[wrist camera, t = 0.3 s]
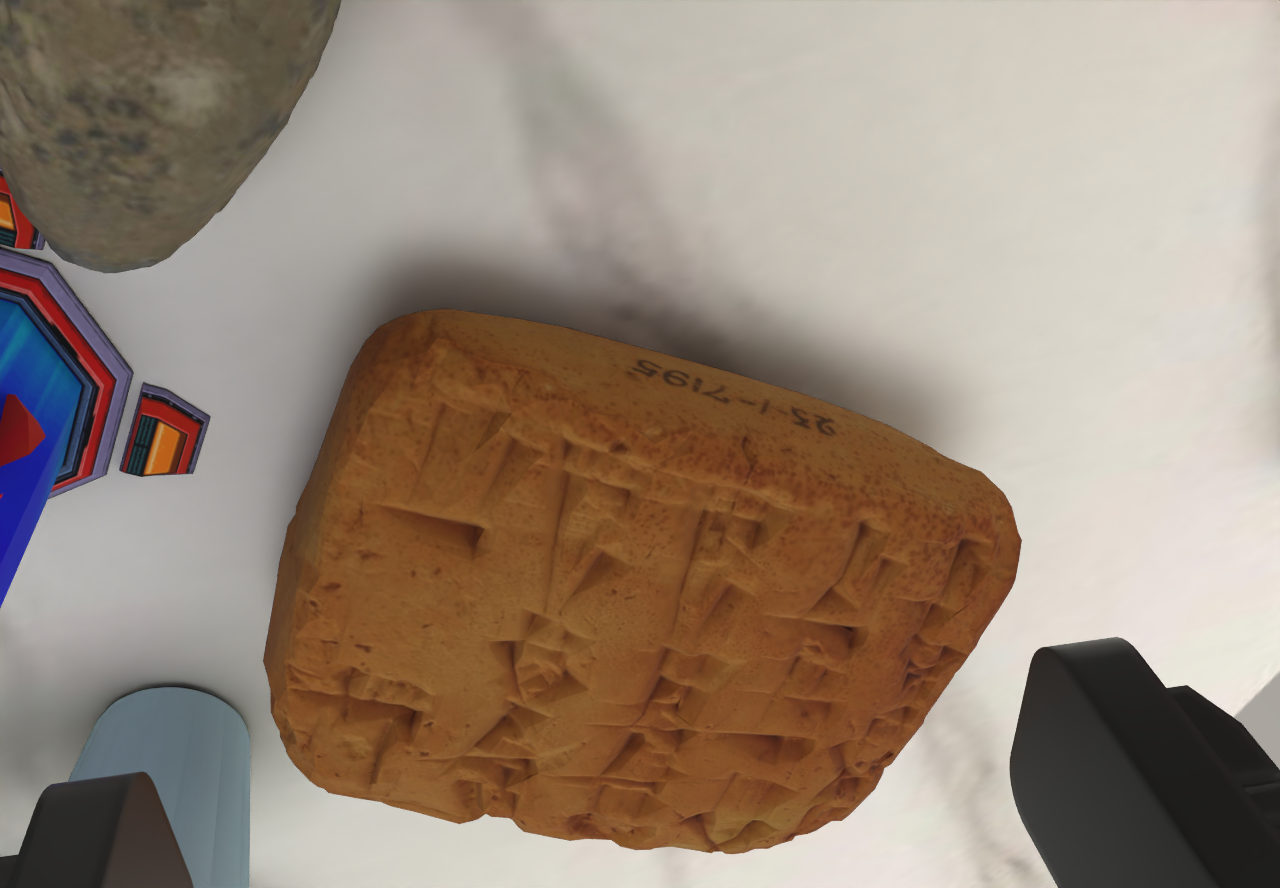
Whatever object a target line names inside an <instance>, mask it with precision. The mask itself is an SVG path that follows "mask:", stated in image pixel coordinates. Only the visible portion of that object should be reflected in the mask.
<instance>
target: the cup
mask: <svg viewBox="0 0 1280 888" xmlns="http://www.w3.org/2000/svg"><path fill="white" fill-rule="evenodd" d="M142 771H143V772H146V773H147V774H148V775H149V776H150V777H151V779H152V780H153V782H154V784H155V787H156V789H157V792H158V794H159V797H160V799H161V802H162V805H163V807H164V810H165V812H166V815H167V817H168V820H169V822H170V825H171V828H172V830H173V833H174V835H175V838H176V840H177V843H178V846H179V848H180V851H181V853H182V856H183V858H184V861H185V863H186V866H187V869H188V871H189V874H190V876H191V879H192V883H193V887H194V888H249V849H250V737H249V734H248V731H247V728H246V726H245V723H244V721H243V720H242V718H241V716H240V715H239V714H238V713H237V712H236V711H235V710H234V709H233V708H232V707H230V706H229V705H228V704H226V703H225V702H223V701H222V700H220V699H218V698H216V697H214V696H212V695H209V694H207V693H204V692H200V691H197V690H192V689H186V688H179V687H164V688H152V689H146V690H142V691H138V692H136V693H133V694H130V695H128V696H126V697H124V698H121V699H119V700H118V701H116V702H115V703H113V704H112V705H111V706H110V707H109V708H108V709H107V710H106V711H105V712H104V713H103V714H102V715H101V717H100V718H99V719H98V720H97V722H96V724H95V726H94V728H93V730H92V732H91V734H90V736H89V738H88V740H87V742H86V744H85V746H84V748H83V750H82V752H81V755H80V757H79V759H78V761H77V763H76V765H75V767H74V769H73V771H72V773H71V775H70V778H69V780H68V782H71V781H78V780H85V779H92V778H99V777H106V776H113V775H120V774H128V773H135V772H142Z"/></svg>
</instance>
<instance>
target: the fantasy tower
mask: <svg viewBox="0 0 1280 888" xmlns="http://www.w3.org/2000/svg"><path fill="white" fill-rule="evenodd" d="M44 241H45V239H44V238H43V236H42V235H41V234H40V232H39V231H38V229H37V228H36V227H35V226H33V225H32V224H31V223H30V221H29V220H28V219H27V218H26V217H25V215H24V214H23V213H22V212H21V211H20V209H19V208H18V206H17V204H16V202H15V200H14V198H13V196H12V195H11V192H10V190H9V187H8V185H7V183H6V180H5V178H4V175H3V172H2V170H1V167H0V244H2V245H6V246H9V247H12V248H20V249H35V250H43V246H44ZM132 377H133V371H132V370H131V369H130V367H129V366H128V365H127V363H126V362H125V361H124V359H123V358H122V357H121V355H120V354H119V353H118V351H117V350H116V349H115V347H114V346H113V345H112V343H111V342H110V341H109V339H108V338H107V337H106V335H105V334H104V333H103V331H102V330H101V329H100V327H99V326H98V325H97V323H96V322H95V321H94V319H93V318H92V317H91V315H90V314H89V313H88V311H87V310H86V309H85V307H84V306H83V305H82V303H81V302H80V301H79V299H78V298H77V297H76V296H75V294H74V293H73V292H72V290H71V289H70V288H69V286H68V285H67V284H66V282H65V281H64V280H63V278H62V277H61V276H60V274H59V273H58V272H57V270H56V269H55V268H54V266H53V265H52V264H51V263H48V262H45V261H42V260H38V259H35V258H32V257H28V256H25V255H22V254H18V253H15V252H11V251H8V250H5V249H1V248H0V608H1V605H2V603H3V601H4V598H5V596H6V594H7V591H8V589H9V587H10V585H11V582H12V580H13V578H14V575H15V573H16V571H17V568H18V566H19V564H20V561H21V559H22V557H23V554H24V552H25V550H26V548H27V545H28V543H29V541H30V538H31V536H32V534H33V531H34V529H35V527H36V524H37V522H38V520H39V518H40V515H41V513H42V511H43V508H44V506H45V504H46V501H47V499H50V498H52V497H55V496H57V495H59V494H62V493H64V492H67V491H69V490H71V489H74V488H76V487H78V486H81V485H83V484H86V483H88V482H90V481H93V480H95V479H98V478H100V477H102V476H105V475H106V474H107V470H108V466H109V463H110V459H111V455H112V451H113V448H114V444H115V440H116V436H117V433H118V429H119V425H120V421H121V418H122V414H123V410H124V407H125V403H126V399H127V395H128V392H129V388H130V384H131V380H132ZM209 421H210V417H209V416H208V415H206V414H204V413H203V412H201V411H200V410H198V409H196V408H195V407H193V406H192V405H190V404H188V403H187V402H185V401H184V400H182V399H180V398H179V397H177V396H175V395H174V394H172V393H171V392H169V391H167V390H165V389H161V388H158V387H154V386H150V385H146V384H143V385H142V388H141V392H140V396H139V399H138V403H137V407H136V410H135V414H134V418H133V421H132V425H131V429H130V432H129V436H128V440H127V443H126V447H125V451H124V454H123V458H122V462H121V465H120V469H119V471H122V472H124V473H128V474H132V475H136V476H140V477H143V476H154V475H176V474H193V472H194V469H195V466H196V462H197V459H198V456H199V453H200V450H201V446H202V443H203V440H204V437H205V433H206V430H207V427H208V424H209Z"/></svg>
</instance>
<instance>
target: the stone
mask: <svg viewBox="0 0 1280 888" xmlns="http://www.w3.org/2000/svg"><path fill="white" fill-rule="evenodd" d="M340 3H341V0H0V167H1V170H2V172H3V175H4V178H5V180H6V183H7V185H8V187H9V190H10V192H11V195H12V196H13V198H14V200H15V202H16V204H17V206H18V208H19V209H20V211H21V212H22V213H23V214H24V215H25V217H26V218H27V219H28V220H29V221H30V223H31V224H32V225H33V226H35V227H36V228H37V229H38V231H39V232H40V234H41V235H42V236H43V238H44V239H45V240H46V241H47V242H48V244H49V246H50V248H51V249H52V250H53V251H54V252H55V253H56V254H57V255H58V256H59V257H61V258H62V259H63V260H65V261H68V262H70V263H73V264H76V265H79V266H82V267H84V268H87V269H90V270H94V271H99V272H103V273H119V272H124V271H129V270H134V269H138V268H143V267H151V266H153V265H155V264H157V263H159V262H161V261H163V260H165V259H167V258H169V257H170V256H171V255H172V254H173V253H174V252H175V251H176V250H177V249H178V248H179V247H180V246H181V245H182V244H184V243H186V242H187V241H189V240H190V239H191V238H192V237H194V236H195V235H196V234H197V233H198V232H199V231H200V230H201V229H202V228H203V227H204V226H205V225H206V224H207V223H208V222H209V221H210V219H211V218H212V217H213V216H214V215H215V214H216V213H218V212H220V211H221V210H222V209H223V208H224V207H225V206H226V205H227V204H228V202H229V201H230V199H231V198H232V197H233V195H234V194H235V192H236V191H237V189H238V188H239V187H240V186H241V184H242V183H243V182H244V181H245V180H246V178H247V177H248V176H249V174H250V173H251V172H252V170H253V169H254V168H255V166H256V165H257V164H258V163H259V161H260V160H261V159H262V158H263V156H264V155H265V154H266V152H267V151H268V149H269V147H270V146H271V144H272V143H273V142H274V140H275V139H276V137H277V136H278V135H279V133H280V131H281V130H282V129H283V128H284V127H285V125H286V124H287V123H288V120H289V118H290V115H291V112H292V111H293V109H294V107H295V105H296V103H297V101H298V100H299V98H300V97H301V95H302V93H303V92H304V90H305V88H306V86H307V84H308V82H309V80H310V78H312V77H313V75H314V73H315V71H316V69H317V67H318V65H319V62H320V59H321V56H322V52H323V50H324V48H325V46H326V44H327V42H328V40H329V38H330V35H331V33H332V30H333V26H334V22H335V20H336V18H337V15H338V11H339V8H340Z"/></svg>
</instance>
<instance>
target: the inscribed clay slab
mask: <svg viewBox="0 0 1280 888" xmlns="http://www.w3.org/2000/svg"><path fill="white" fill-rule="evenodd" d="M1021 542H1022V540H1021V538H1020V535H1019V533H1018V530H1017V526H1016V522H1015V518H1014V514H1013V510H1012V507H1011V505H1010V503H1009V501H1008V500H1007V498H1006V496H1005V494H1004V493H1003V492H1002V491H1001V490H1000V489H999V488H998V487H997V486H996V485H995V484H994V483H993V482H992V481H991V480H989V479H988V478H987V477H986V476H985V475H984V474H983V473H982V472H981V471H978V470H975V469H973V468H970V467H968V466H965V465H963V464H961V463H958V462H956V461H954V460H951V459H949V458H947V457H945V456H943V455H941V454H940V453H939V452H937V451H936V450H934V449H933V448H931V447H929V446H928V445H926V444H924V443H922V442H920V441H918V440H916V439H914V438H912V437H910V436H908V435H906V434H904V433H902V432H900V431H898V430H896V429H894V428H892V427H890V426H888V425H886V424H884V423H881V422H878V421H876V420H873V419H871V418H868V417H866V416H863V415H860V414H858V413H855V412H852V411H850V410H847V409H844V408H841V407H839V406H836V405H833V404H830V403H828V402H825V401H822V400H819V399H816V398H813V397H811V396H808V395H805V394H802V393H798V392H795V391H792V390H788V389H785V388H781V387H778V386H774V385H771V384H767V383H764V382H761V381H758V380H754V379H751V378H748V377H745V376H741V375H738V374H735V373H731V372H728V371H724V370H721V369H717V368H713V367H710V366H706V365H703V364H699V363H696V362H692V361H688V360H685V359H681V358H678V357H674V356H670V355H667V354H663V353H660V352H656V351H652V350H648V349H644V348H641V347H637V346H633V345H629V344H625V343H621V342H618V341H614V340H610V339H606V338H603V337H599V336H595V335H592V334H588V333H585V332H581V331H578V330H574V329H570V328H567V327H561V326H556V325H550V324H545V323H539V322H534V321H528V320H523V319H517V318H509V317H501V316H494V315H487V314H481V313H474V312H468V311H461V310H453V309H437V310H428V311H421V312H416V313H411V314H406V315H403V316H401V317H399V318H397V319H395V320H392V321H390V322H388V323H386V324H384V325H382V326H380V327H378V328H377V329H376V330H375V331H374V333H373V334H372V335H371V336H370V337H369V338H368V339H367V340H366V341H365V343H364V345H363V346H362V348H361V350H360V351H359V353H358V355H357V356H356V358H355V360H354V361H353V363H352V365H351V367H350V369H349V372H348V375H347V377H346V380H345V383H344V385H343V388H342V391H341V393H340V396H339V399H338V402H337V404H336V407H335V410H334V413H333V416H332V418H331V421H330V424H329V427H328V430H327V433H326V435H325V438H324V441H323V444H322V447H321V449H320V452H319V455H318V458H317V460H316V463H315V465H314V468H313V471H312V473H311V476H310V479H309V481H308V483H307V485H306V487H305V489H304V491H303V493H302V495H301V497H300V499H299V501H298V504H297V506H296V514H295V516H294V517H293V519H292V520H291V522H290V523H289V525H288V528H287V533H286V538H285V542H284V547H283V551H282V554H281V558H280V562H279V569H278V575H277V577H278V578H277V584H276V589H275V595H274V601H273V607H272V613H271V619H270V624H269V630H268V635H267V641H266V647H265V653H264V659H263V662H264V666H265V669H266V673H267V676H268V681H269V686H270V690H271V714H272V716H273V718H274V721H275V723H276V725H277V727H278V729H279V731H280V738H281V740H282V742H283V744H284V746H285V748H286V752H287V754H288V756H289V757H290V759H291V760H292V762H293V764H294V765H295V766H296V767H297V768H298V769H299V770H300V771H301V772H302V773H303V774H304V775H305V776H306V777H307V778H308V779H309V781H311V782H312V783H314V784H315V785H316V786H318V787H321V788H324V789H325V790H326V791H327V792H328V793H332V794H337V795H343V796H348V797H354V798H359V799H366V800H372V801H379V802H383V803H385V804H387V805H390V806H393V807H397V808H401V809H405V810H410V811H414V812H418V813H421V814H425V815H429V816H432V817H436V818H440V819H443V820H447V821H450V822H454V823H458V824H461V823H465V822H469V821H473V820H477V819H479V818H480V817H482V816H483V815H485V814H488V815H489V816H491V817H503V818H510V819H512V820H513V821H514V822H515V824H516V825H517V826H518V827H519V828H520V829H522V830H523V831H524V832H528V833H533V834H538V835H543V836H548V837H553V838H559V839H564V840H569V841H571V840H580V839H605V840H612V841H614V842H615V843H617V844H618V845H619V846H621V847H626V848H630V849H634V850H650V849H653V848H660V847H678V848H684V849H691V850H697V851H703V852H708V853H712V852H714V851H722V852H724V853H725V854H738V853H745V852H748V851H750V850H753V849H768V848H771V847H773V846H775V845H777V844H781V843H784V842H788V841H791V840H793V838H794V837H795V836H797V835H803V834H808V833H811V832H813V831H816V830H817V829H819V828H821V827H822V826H824V825H826V824H827V823H829V822H830V821H842V820H843V819H845V818H846V817H847V816H849V815H850V814H851V813H852V812H853V811H854V810H855V809H856V808H857V807H858V806H859V805H860V804H861V803H862V802H863V800H864V799H865V798H866V797H867V796H868V795H869V794H870V793H871V792H872V791H873V790H874V789H875V788H876V786H877V784H878V782H879V780H880V778H881V776H882V774H883V771H884V768H885V767H887V766H889V765H890V764H892V762H893V761H894V760H895V758H896V757H897V756H898V754H899V753H900V752H901V750H902V749H903V748H904V746H905V745H906V744H907V743H908V741H909V740H910V739H911V738H912V736H913V735H914V734H915V733H916V732H917V730H918V729H919V728H920V727H921V725H922V724H923V722H924V719H925V717H926V715H927V714H928V712H929V711H930V710H931V708H932V707H933V705H934V704H935V702H936V701H937V699H938V698H939V697H940V695H941V694H942V692H943V691H944V689H945V688H946V687H947V685H948V684H949V682H950V681H951V679H952V678H953V677H954V674H955V673H956V672H957V671H958V670H959V669H960V668H961V666H962V665H963V663H964V662H965V661H966V659H967V658H968V656H969V655H970V653H971V652H972V651H973V649H974V648H975V647H976V645H977V643H978V641H979V639H980V637H981V635H982V634H983V632H984V631H985V629H986V628H987V626H988V625H989V623H990V622H991V620H992V619H993V617H994V616H995V614H996V613H997V611H998V610H999V608H1000V606H1001V605H1002V603H1003V602H1004V600H1005V598H1006V597H1007V595H1008V593H1009V592H1010V590H1011V589H1012V586H1013V584H1014V581H1015V578H1016V573H1017V567H1018V562H1019V556H1020V549H1021Z"/></svg>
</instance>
